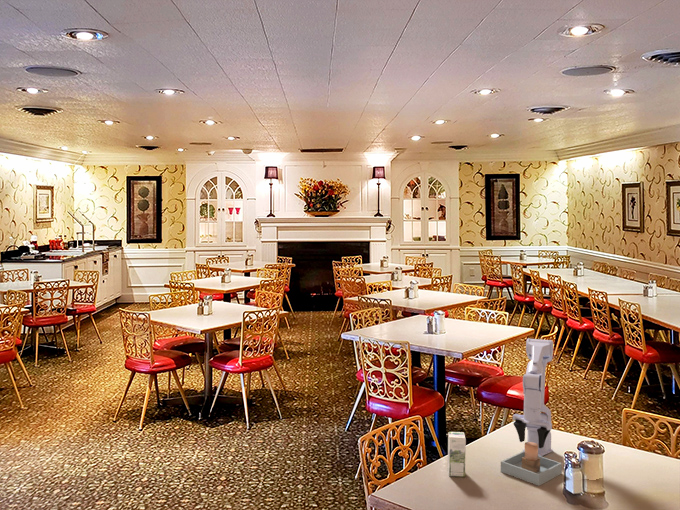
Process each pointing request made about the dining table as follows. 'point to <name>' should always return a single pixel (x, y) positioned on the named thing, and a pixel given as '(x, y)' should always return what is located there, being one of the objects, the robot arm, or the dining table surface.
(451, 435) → the syrup box
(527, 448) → the peach rounded capsule
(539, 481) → the tote
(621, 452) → the dining table surface
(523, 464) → the walnut block
